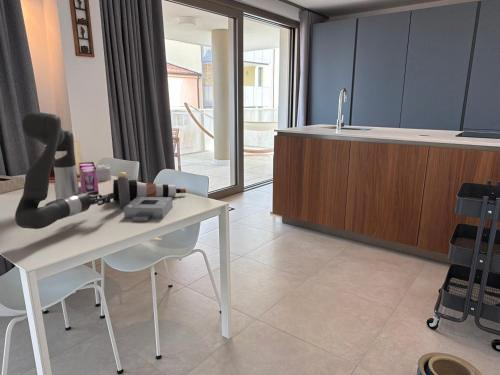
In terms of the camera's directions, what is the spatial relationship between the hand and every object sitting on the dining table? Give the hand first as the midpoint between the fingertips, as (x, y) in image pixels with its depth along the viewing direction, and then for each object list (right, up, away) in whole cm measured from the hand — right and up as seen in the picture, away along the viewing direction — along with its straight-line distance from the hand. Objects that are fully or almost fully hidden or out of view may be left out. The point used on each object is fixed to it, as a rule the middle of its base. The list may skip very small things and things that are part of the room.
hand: (105, 194), depth 146 cm
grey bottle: (+4, -6, +12) cm, 14 cm away
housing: (+17, -8, +6) cm, 19 cm away
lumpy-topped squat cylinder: (-30, +8, +67) cm, 74 cm away
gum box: (-25, +1, +40) cm, 48 cm away
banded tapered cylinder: (+12, -3, +26) cm, 29 cm away
